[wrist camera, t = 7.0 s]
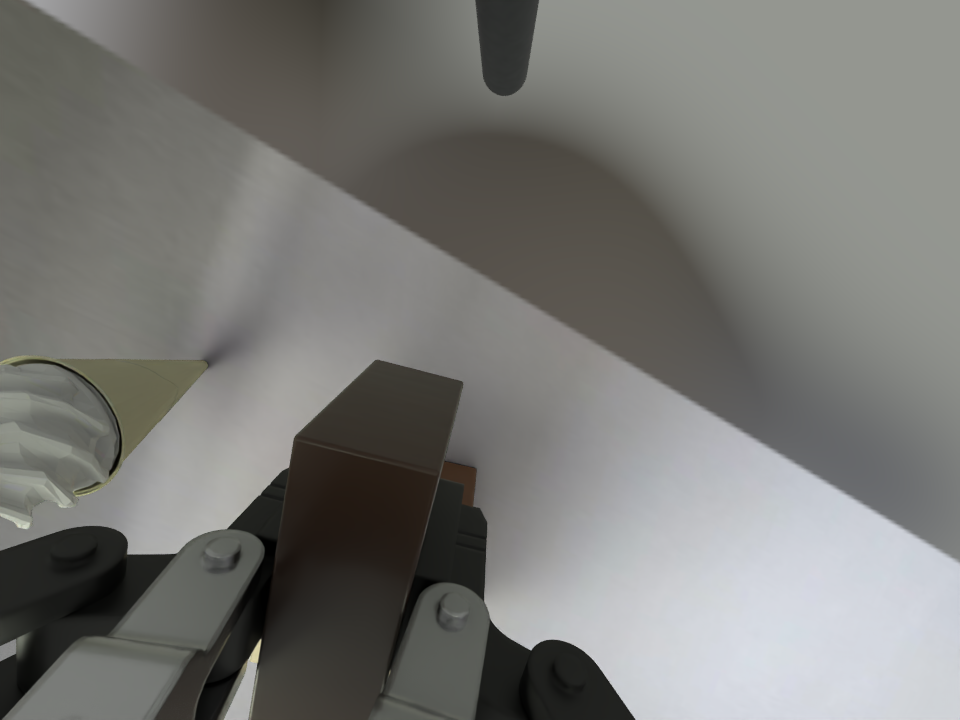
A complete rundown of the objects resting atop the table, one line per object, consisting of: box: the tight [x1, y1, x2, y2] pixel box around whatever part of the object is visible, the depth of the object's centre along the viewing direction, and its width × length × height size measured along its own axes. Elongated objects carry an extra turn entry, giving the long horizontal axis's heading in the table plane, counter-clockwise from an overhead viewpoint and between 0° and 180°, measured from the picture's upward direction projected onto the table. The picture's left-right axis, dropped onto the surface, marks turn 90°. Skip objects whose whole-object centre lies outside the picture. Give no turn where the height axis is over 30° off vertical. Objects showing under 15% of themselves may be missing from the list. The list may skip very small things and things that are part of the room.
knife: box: [248, 360, 463, 720], centre depth 11 cm, size 16×2×4 cm, turn 166°
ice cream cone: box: [0, 355, 208, 529], centre depth 15 cm, size 5×5×15 cm
